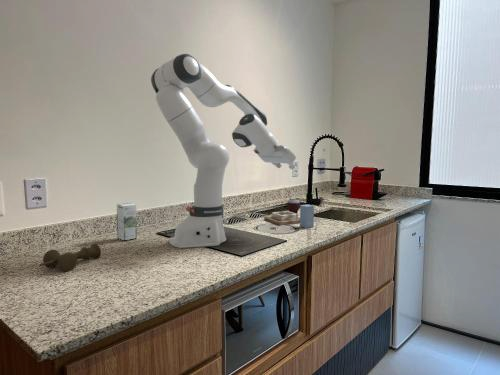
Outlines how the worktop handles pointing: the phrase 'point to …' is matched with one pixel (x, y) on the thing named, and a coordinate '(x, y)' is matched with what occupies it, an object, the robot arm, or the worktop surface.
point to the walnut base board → (283, 218)
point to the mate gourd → (293, 204)
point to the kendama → (69, 257)
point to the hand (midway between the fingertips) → (286, 167)
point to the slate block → (306, 216)
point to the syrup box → (126, 221)
